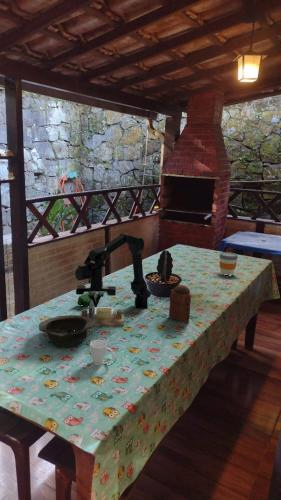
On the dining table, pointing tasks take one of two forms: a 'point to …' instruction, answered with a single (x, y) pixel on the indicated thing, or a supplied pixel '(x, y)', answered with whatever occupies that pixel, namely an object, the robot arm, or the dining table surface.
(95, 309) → the mat
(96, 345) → the cup
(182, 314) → the wooden figurine
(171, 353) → the dining table surface
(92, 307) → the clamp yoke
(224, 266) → the reusable coffee cup
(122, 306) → the dining table surface
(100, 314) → the olive wooden block
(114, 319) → the plane body
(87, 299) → the green lumpy block
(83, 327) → the stone bowl
